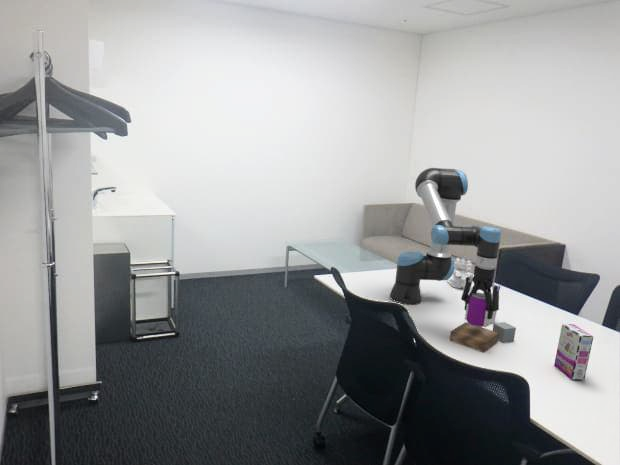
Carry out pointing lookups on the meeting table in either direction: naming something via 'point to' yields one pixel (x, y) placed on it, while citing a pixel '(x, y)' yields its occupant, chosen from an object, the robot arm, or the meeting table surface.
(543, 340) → the meeting table surface
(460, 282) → the silvery white figurine
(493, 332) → the walnut block
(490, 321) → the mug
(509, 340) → the grey block
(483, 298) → the beverage can
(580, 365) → the candy bar box
